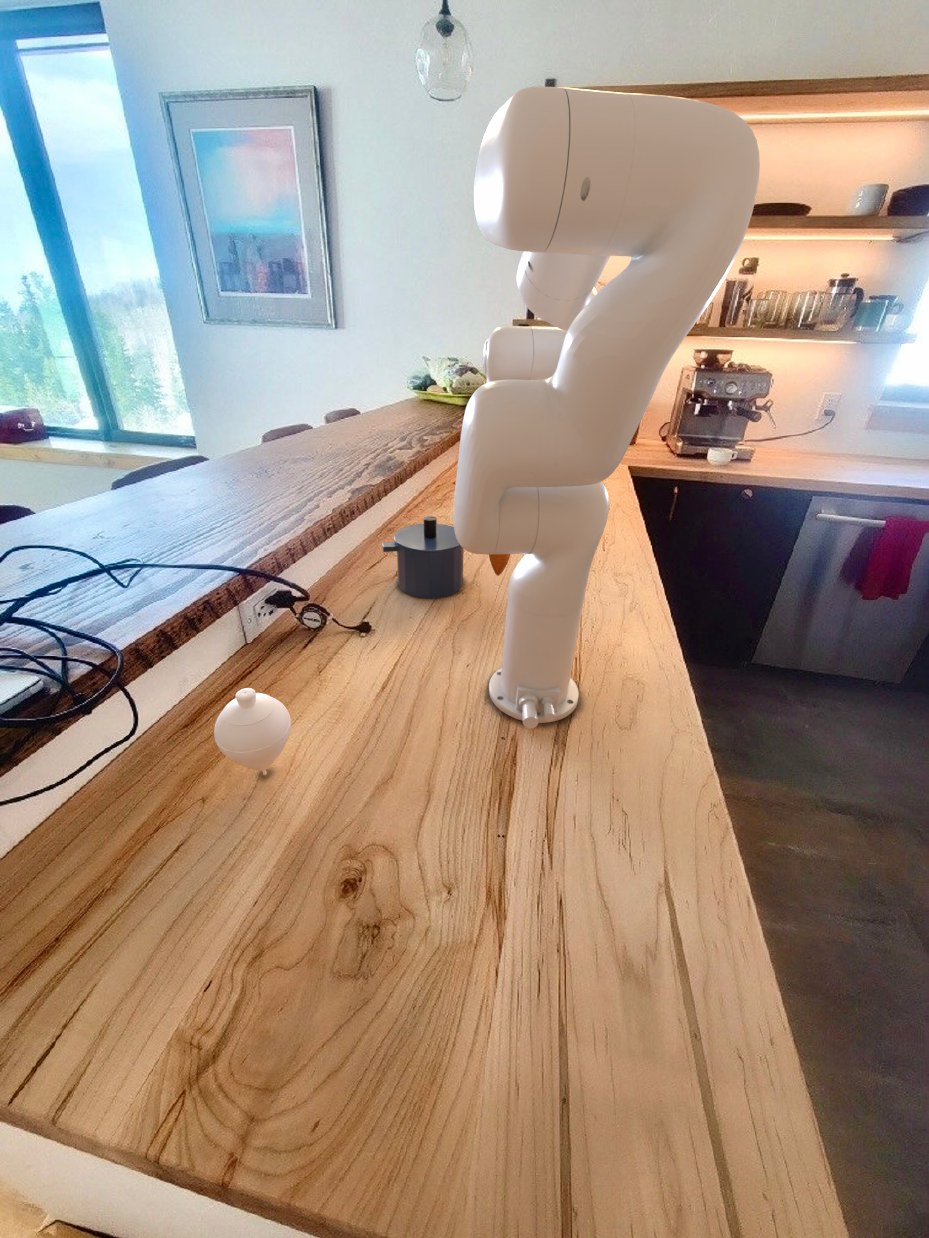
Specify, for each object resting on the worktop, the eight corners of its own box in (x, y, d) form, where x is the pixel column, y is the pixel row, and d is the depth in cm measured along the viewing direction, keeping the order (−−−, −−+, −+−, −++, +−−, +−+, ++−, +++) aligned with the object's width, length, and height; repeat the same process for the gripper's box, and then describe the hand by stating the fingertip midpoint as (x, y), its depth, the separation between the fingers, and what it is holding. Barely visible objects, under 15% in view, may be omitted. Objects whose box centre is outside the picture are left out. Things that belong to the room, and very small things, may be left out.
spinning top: (275, 740, 62) (258, 661, 56) (313, 771, 58) (299, 690, 52) (215, 776, 57) (189, 694, 51) (252, 814, 53) (229, 729, 47)
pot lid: (473, 553, 91) (474, 529, 89) (398, 558, 89) (397, 533, 86) (457, 527, 103) (458, 505, 100) (391, 530, 100) (389, 508, 98)
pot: (481, 594, 97) (484, 548, 92) (387, 601, 93) (385, 554, 88) (467, 566, 107) (468, 524, 102) (382, 572, 104) (379, 529, 99)
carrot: (509, 582, 92) (515, 501, 84) (482, 579, 93) (486, 499, 85) (512, 571, 96) (518, 493, 89) (487, 568, 97) (491, 491, 89)
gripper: (454, 418, 78) (452, 531, 86) (564, 422, 77) (551, 535, 86) (456, 412, 84) (454, 517, 93) (558, 416, 84) (546, 521, 93)
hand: (501, 525), depth 89 cm, fingers closed on carrot, 4 cm apart
